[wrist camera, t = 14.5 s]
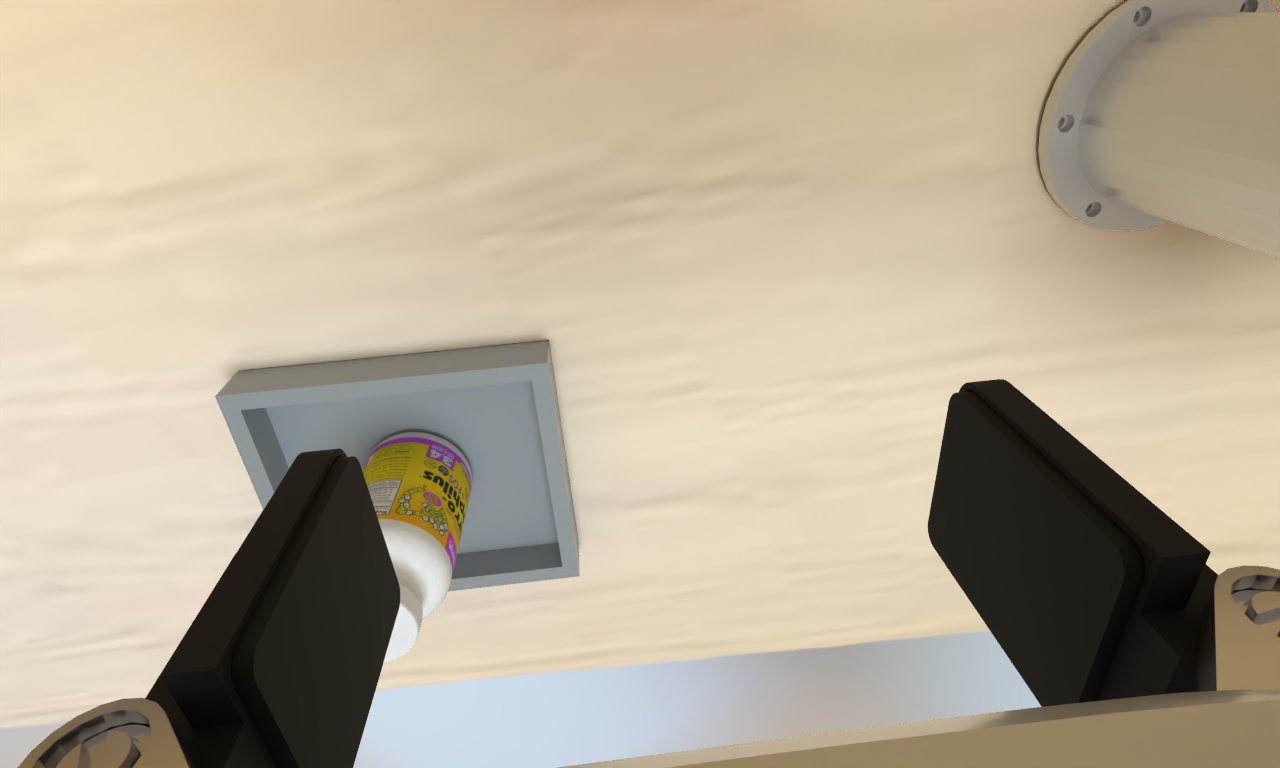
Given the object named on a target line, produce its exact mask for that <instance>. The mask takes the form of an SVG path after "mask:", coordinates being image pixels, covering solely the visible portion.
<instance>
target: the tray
mask: <svg viewBox="0 0 1280 768" xmlns="http://www.w3.org/2000/svg"><path fill="white" fill-rule="evenodd" d="M215 397H216V399H217V402H218V404H219V406H220V409H221V411H222V413H223V416H224V418H225V420H226V423H227V425H228V427H229V430H230V432H231V434H232V437H233V439H234V442H235V444H236V446H237V449H238V451H239V453H240V456H241V458H242V460H243V463H244V465H245V467H246V470H247V472H248V474H249V477H250V479H251V481H252V484H253V486H254V488H255V491H256V493H257V495H258V498H259V500H260V503H261V505H262V507H263V510H264V508H265V507H266V505H267V503H268V502H269V500H270V499H271V497H272V495H273V494H274V492H275V491H276V489H277V487H278V486H279V484H280V483H281V481H282V479H283V478H284V476H285V475H286V473H287V471H288V470H289V468H290V467H291V465H292V463H293V462H294V460H295V459H296V457H297V456H298V455H299V454H300V453H302V452H309V451H319V450H328V449H338V448H339V449H342V450H343V451H344V452H345V454H346V455H347V457H351V456H354V457H356V458H357V459H358V461H359V463H360V465H361V468H362V466H363V464H364V462H365V461H366V459H367V457H368V455H369V454H370V452H371V451H372V450H373V449H374V448H375V447H376V446H377V445H378V444H379V443H381V442H382V441H384V440H385V439H387V438H390V437H392V436H394V435H397V434H401V433H407V432H422V433H428V434H432V435H435V436H438V437H441V438H443V439H445V440H447V441H448V442H450V443H451V444H453V445H454V446H455V447H456V448H458V449H459V450H460V452H461V453H462V454H463V455H464V457H465V458H466V460H467V462H468V463H469V466H470V469H471V473H472V487H471V492H470V497H469V502H468V506H467V511H466V515H465V520H464V524H463V528H462V533H461V538H460V542H459V547H458V551H457V556H456V560H455V565H454V569H453V574H452V579H451V583H450V586H449V590H448V591H454V590H463V589H472V588H481V587H489V586H498V585H507V584H516V583H524V582H533V581H542V580H551V579H559V578H568V577H577V576H579V542H578V536H577V529H576V522H575V515H574V508H573V501H572V495H571V488H570V481H569V474H568V467H567V460H566V454H565V447H564V440H563V433H562V426H561V419H560V413H559V406H558V399H557V392H556V385H555V379H554V372H553V365H552V358H551V351H550V344H549V340H547V341H537V342H526V343H516V344H506V345H496V346H486V347H476V348H466V349H456V350H446V351H435V352H425V353H415V354H405V355H395V356H385V357H375V358H365V359H354V360H344V361H334V362H324V363H314V364H304V365H294V366H284V367H274V368H263V369H253V370H243V371H238V372H237V374H236V375H235V376H234V377H233V378H232V379H231V380H230V381H229V382H228V383H227V384H226V385H225V386H224V387H223V389H222V390H221V391H220V392H219V393H218V394H217V395H216V396H215Z"/></svg>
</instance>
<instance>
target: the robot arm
mask: <svg viewBox="0 0 1280 768" xmlns="http://www.w3.org/2000/svg"><path fill="white" fill-rule="evenodd" d="M1038 153H1039V162H1040V170H1041V174H1042V177H1043V180H1044V182H1045V185H1046V188H1047V190H1048V192H1049V193H1050V195H1051V196H1052V198H1053V199H1054V201H1055V202H1056V204H1057V205H1058V206H1059V207H1060V208H1061V209H1063V210H1064V211H1065V212H1066V213H1067V214H1068V215H1069V216H1071V217H1073V218H1075V219H1077V220H1079V221H1081V222H1083V223H1085V224H1088V225H1091V226H1093V227H1096V228H1099V229H1102V230H1109V231H1118V232H1126V231H1137V230H1144V229H1147V228H1151V227H1155V226H1158V225H1162V224H1165V223H1167V222H1169V221H1171V222H1173V223H1176V224H1179V225H1182V226H1185V227H1188V228H1191V229H1194V230H1197V231H1199V232H1202V233H1205V234H1208V235H1211V236H1214V237H1217V238H1220V239H1223V240H1225V241H1228V242H1231V243H1234V244H1237V245H1240V246H1243V247H1246V248H1249V249H1251V250H1254V251H1257V252H1260V253H1263V254H1266V255H1269V256H1272V257H1274V258H1277V259H1280V12H1277V11H1276V9H1275V8H1274V7H1273V5H1272V4H1271V3H1270V2H1269V0H1128V1H1126V2H1125V3H1123V4H1122V5H1121V6H1119V7H1118V8H1116V9H1115V10H1114V11H1112V12H1111V13H1109V14H1108V15H1107V16H1106V17H1105V18H1104V19H1103V20H1102V21H1101V22H1100V23H1099V24H1098V25H1097V26H1096V27H1095V28H1094V29H1092V30H1091V31H1090V32H1089V33H1088V34H1087V36H1086V37H1085V38H1084V39H1083V41H1082V42H1081V43H1080V44H1079V46H1078V47H1077V48H1076V49H1075V51H1074V52H1073V53H1072V55H1071V56H1070V57H1069V59H1068V61H1067V62H1066V64H1065V66H1064V67H1063V69H1062V71H1061V72H1060V74H1059V76H1058V78H1057V79H1056V81H1055V84H1054V86H1053V88H1052V91H1051V93H1050V96H1049V98H1048V100H1047V103H1046V106H1045V110H1044V114H1043V118H1042V122H1041V126H1040V134H1039V147H1038ZM928 533H929V538H930V541H931V543H932V545H933V547H934V549H935V550H936V551H937V553H938V554H939V556H940V557H941V559H942V560H943V562H944V563H945V565H946V566H947V568H948V569H949V571H950V572H951V574H952V575H953V576H954V578H955V579H956V581H957V582H958V584H959V585H960V587H961V588H962V590H963V591H964V593H965V594H966V596H967V597H968V599H969V600H970V602H971V603H972V604H973V606H974V607H975V609H976V610H977V612H978V613H979V615H980V616H981V618H982V619H983V621H984V622H985V624H986V625H987V627H988V628H989V629H990V631H991V632H992V634H993V635H994V637H995V638H996V640H997V641H998V643H999V644H1000V646H1001V647H1002V649H1003V650H1004V651H1005V653H1006V655H1007V656H1008V657H1009V659H1010V660H1011V662H1012V663H1013V665H1014V666H1015V668H1016V669H1017V671H1018V672H1019V674H1020V675H1021V676H1022V678H1023V679H1024V681H1025V682H1026V684H1027V685H1028V687H1029V688H1030V690H1031V691H1032V693H1033V694H1034V696H1035V697H1036V699H1037V700H1038V702H1039V703H1040V705H1041V706H1042V707H1038V708H1030V709H1021V710H1013V711H1005V712H996V713H988V714H980V715H972V716H963V717H955V718H947V719H938V720H931V721H922V722H914V723H905V724H898V725H889V726H881V727H873V728H864V729H856V730H849V731H840V732H832V733H825V734H816V735H809V736H800V737H792V738H785V739H778V740H769V741H761V742H753V743H746V744H737V745H729V746H721V747H713V748H706V749H698V750H690V751H682V752H674V753H666V754H659V755H651V756H643V757H635V758H627V759H620V760H612V761H605V762H598V763H590V764H582V765H575V766H567V767H560V768H1280V570H1278V569H1274V568H1269V567H1263V566H1240V567H1235V568H1230V569H1227V570H1226V571H1224V572H1223V573H1221V574H1220V575H1217V574H1216V573H1215V572H1214V571H1213V570H1212V569H1210V568H1209V567H1208V566H1207V565H1206V561H1207V559H1208V557H1209V555H1210V551H1209V550H1208V549H1207V548H1205V547H1204V546H1203V545H1202V544H1201V543H1199V542H1198V541H1197V540H1196V539H1195V538H1193V537H1192V536H1191V535H1190V534H1189V533H1187V532H1186V531H1185V530H1184V529H1183V528H1182V527H1180V526H1179V525H1178V524H1177V523H1176V522H1174V521H1173V520H1172V519H1171V518H1170V517H1168V516H1167V515H1166V514H1165V513H1164V512H1163V511H1161V510H1160V509H1159V508H1158V507H1157V506H1155V505H1154V504H1153V503H1152V502H1151V501H1149V500H1148V499H1147V498H1146V497H1145V496H1143V495H1142V494H1141V493H1140V492H1139V491H1138V490H1136V489H1135V488H1134V487H1133V486H1132V485H1130V484H1129V483H1128V482H1127V481H1126V480H1124V479H1123V478H1122V477H1121V476H1120V475H1119V474H1117V473H1116V472H1115V471H1114V470H1113V469H1111V468H1110V467H1109V466H1108V465H1107V464H1105V463H1104V462H1103V461H1102V460H1101V459H1099V458H1098V457H1097V456H1096V455H1095V454H1094V453H1092V452H1091V451H1090V450H1089V449H1088V448H1086V447H1085V446H1084V445H1083V444H1082V443H1080V442H1079V441H1078V440H1077V439H1076V438H1075V437H1073V436H1072V435H1071V434H1070V433H1069V432H1067V431H1066V430H1065V429H1064V428H1063V427H1061V426H1060V425H1059V424H1058V423H1057V422H1055V421H1054V420H1053V419H1052V418H1051V417H1050V416H1048V415H1047V414H1046V413H1045V412H1044V411H1042V410H1041V409H1040V408H1039V407H1038V406H1036V405H1035V404H1034V403H1033V402H1032V401H1031V400H1029V399H1028V398H1027V397H1026V396H1025V395H1023V394H1022V393H1021V392H1020V391H1019V390H1017V389H1016V388H1015V387H1014V386H1013V385H1011V384H1010V383H1009V382H1007V381H1006V380H1001V379H998V380H989V381H979V382H970V383H966V384H964V385H963V386H962V387H961V389H960V391H959V393H955V394H953V395H952V396H951V398H950V401H949V406H948V412H947V418H946V423H945V429H944V435H943V440H942V446H941V452H940V457H939V463H938V469H937V475H936V480H935V486H934V492H933V497H932V503H931V509H930V515H929V520H928ZM399 606H400V586H399V582H398V579H397V576H396V573H395V570H394V567H393V564H392V560H391V557H390V554H389V551H388V548H387V545H386V542H385V539H384V536H383V533H382V530H381V527H380V524H379V521H378V517H377V514H376V511H375V508H374V505H373V502H372V499H371V496H370V493H369V490H368V487H367V484H366V481H365V478H364V474H363V471H362V468H361V465H360V463H359V461H358V459H357V458H356V457H354V456H351V457H347V455H346V454H345V452H344V451H343V450H342V449H339V448H338V449H328V450H319V451H309V452H302V453H300V454H299V455H298V456H297V457H296V459H295V460H294V462H293V463H292V465H291V467H290V468H289V470H288V471H287V473H286V475H285V476H284V478H283V479H282V481H281V483H280V484H279V486H278V487H277V489H276V491H275V492H274V494H273V495H272V497H271V499H270V500H269V502H268V503H267V505H266V507H265V508H264V510H263V511H262V513H261V515H260V516H259V518H258V520H257V521H256V523H255V524H254V526H253V528H252V529H251V531H250V532H249V534H248V536H247V537H246V539H245V540H244V542H243V544H242V545H241V547H240V548H239V550H238V552H237V553H236V554H235V556H234V557H233V559H232V560H231V562H230V564H229V565H228V567H227V569H226V570H225V572H224V573H223V575H222V577H221V578H220V580H219V581H218V583H217V585H216V586H215V588H214V589H213V591H212V593H211V594H210V596H209V597H208V599H207V601H206V602H205V604H204V605H203V607H202V609H201V610H200V612H199V613H198V615H197V617H196V618H195V620H194V621H193V623H192V625H191V626H190V628H189V629H188V631H187V633H186V634H185V636H184V637H183V639H182V641H181V642H180V644H179V645H178V647H177V649H176V650H175V652H174V653H173V655H172V657H171V658H170V660H169V661H168V663H167V665H166V666H165V668H164V669H163V671H162V673H161V674H160V676H159V677H158V679H157V681H156V682H155V684H154V685H153V687H152V689H151V690H150V692H149V693H148V695H147V697H146V698H145V699H144V698H132V699H121V700H118V701H114V702H110V703H107V704H103V705H100V706H98V707H96V708H94V709H92V710H90V711H87V712H85V713H83V714H81V715H79V716H77V717H75V718H74V719H72V720H71V721H69V722H68V723H66V724H65V725H63V726H62V727H60V728H59V729H57V730H56V731H54V732H53V733H51V734H50V735H49V736H48V737H47V738H46V739H45V740H44V741H42V742H41V743H40V744H39V745H38V746H37V747H36V748H34V749H33V750H32V751H31V752H30V754H29V755H28V756H27V757H26V758H25V760H24V761H23V762H22V763H21V764H20V766H19V767H18V768H353V765H354V762H355V758H356V755H357V751H358V748H359V744H360V741H361V738H362V734H363V731H364V727H365V724H366V721H367V717H368V713H369V710H370V707H371V703H372V700H373V697H374V693H375V690H376V686H377V683H378V679H379V676H380V673H381V669H382V666H383V662H384V659H385V655H386V652H387V648H388V645H389V642H390V638H391V635H392V631H393V628H394V624H395V621H396V618H397V614H398V611H399Z"/></svg>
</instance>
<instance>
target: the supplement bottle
mask: <svg viewBox="0 0 1280 768" xmlns="http://www.w3.org/2000/svg"><path fill="white" fill-rule="evenodd" d="M362 471H363V474H364V478H365V481H366V484H367V487H368V490H369V493H370V496H371V499H372V502H373V505H374V508H375V511H376V514H377V517H378V521H379V524H380V527H381V530H382V533H383V536H384V539H385V542H386V545H387V548H388V551H389V554H390V557H391V560H392V564H393V567H394V570H395V573H396V576H397V579H398V582H399V586H400V606H399V611H398V614H397V618H396V621H395V624H394V628H393V631H392V635H391V638H390V642H389V645H388V648H387V652H386V655H385V659H384V662H383V663H385V662H388V661H392V660H395V659H397V658H399V657H401V656H402V655H404V654H405V653H407V652H408V651H409V650H410V649H411V648H412V647H413V645H414V644H415V642H416V640H417V637H418V634H419V630H420V626H421V622H422V619H424V618H426V617H427V616H428V615H430V614H431V613H432V612H434V611H435V610H436V609H437V608H438V607H439V605H440V604H441V603H442V601H443V600H444V598H445V596H446V595H447V592H448V590H449V586H450V583H451V579H452V574H453V569H454V565H455V560H456V556H457V551H458V547H459V542H460V538H461V533H462V528H463V524H464V520H465V515H466V511H467V506H468V502H469V497H470V492H471V487H472V473H471V469H470V466H469V463H468V462H467V460H466V458H465V457H464V455H463V454H462V453H461V452H460V450H459V449H458V448H456V447H455V446H454V445H453V444H451V443H450V442H448V441H447V440H445V439H443V438H441V437H438V436H435V435H432V434H428V433H422V432H407V433H401V434H397V435H394V436H392V437H390V438H387V439H385V440H384V441H382V442H381V443H379V444H378V445H377V446H376V447H375V448H374V449H373V450H372V451H371V452H370V454H369V455H368V457H367V459H366V461H365V462H364V464H363V466H362Z"/></svg>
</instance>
